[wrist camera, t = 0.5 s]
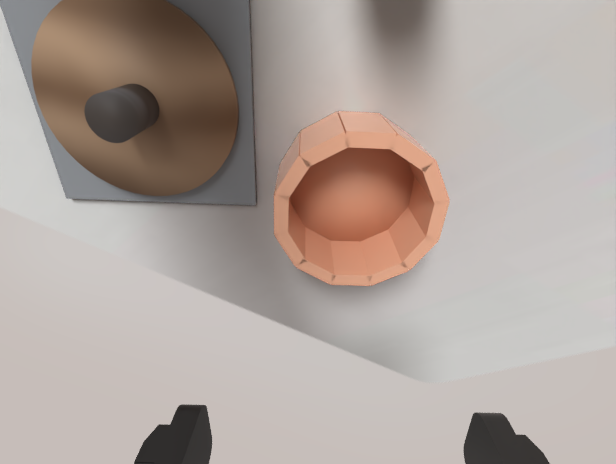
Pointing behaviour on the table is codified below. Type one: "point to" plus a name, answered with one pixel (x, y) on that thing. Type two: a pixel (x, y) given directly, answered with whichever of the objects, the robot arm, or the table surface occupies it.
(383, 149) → the bowl
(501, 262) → the table surface
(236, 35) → the mat
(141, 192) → the lid
